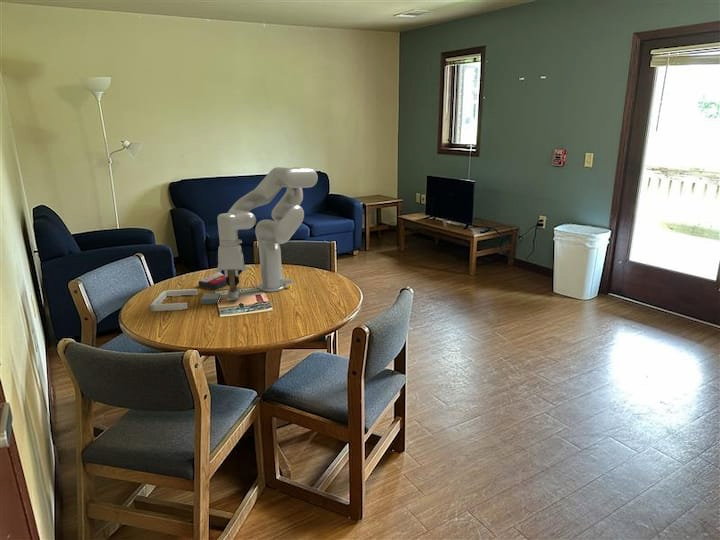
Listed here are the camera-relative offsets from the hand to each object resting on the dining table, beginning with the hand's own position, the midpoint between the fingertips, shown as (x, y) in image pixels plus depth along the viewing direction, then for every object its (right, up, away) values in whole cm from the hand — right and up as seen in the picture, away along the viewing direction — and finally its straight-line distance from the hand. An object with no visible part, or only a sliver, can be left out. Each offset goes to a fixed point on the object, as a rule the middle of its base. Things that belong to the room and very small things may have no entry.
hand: (233, 284), depth 212 cm
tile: (-10, -7, +1) cm, 12 cm away
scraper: (0, -5, +1) cm, 6 cm away
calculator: (-13, -1, +24) cm, 27 cm away
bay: (-25, -8, 0) cm, 26 cm away
